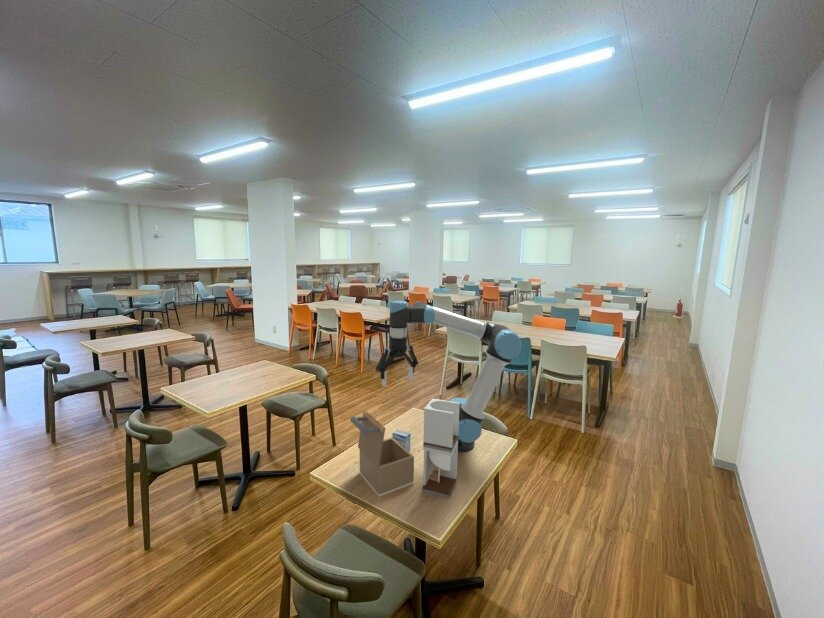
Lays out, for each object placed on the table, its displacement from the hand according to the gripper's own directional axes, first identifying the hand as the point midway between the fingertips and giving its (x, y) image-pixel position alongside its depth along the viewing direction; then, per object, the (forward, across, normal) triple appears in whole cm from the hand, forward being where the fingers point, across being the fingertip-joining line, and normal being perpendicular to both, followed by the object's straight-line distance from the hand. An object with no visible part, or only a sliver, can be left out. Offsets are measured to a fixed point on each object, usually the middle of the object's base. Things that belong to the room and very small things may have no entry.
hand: (397, 383), depth 160 cm
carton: (+37, +11, +10) cm, 40 cm away
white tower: (+37, -5, +26) cm, 46 cm away
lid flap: (+17, +18, +10) cm, 26 cm away
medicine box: (+37, -6, -6) cm, 38 cm away
